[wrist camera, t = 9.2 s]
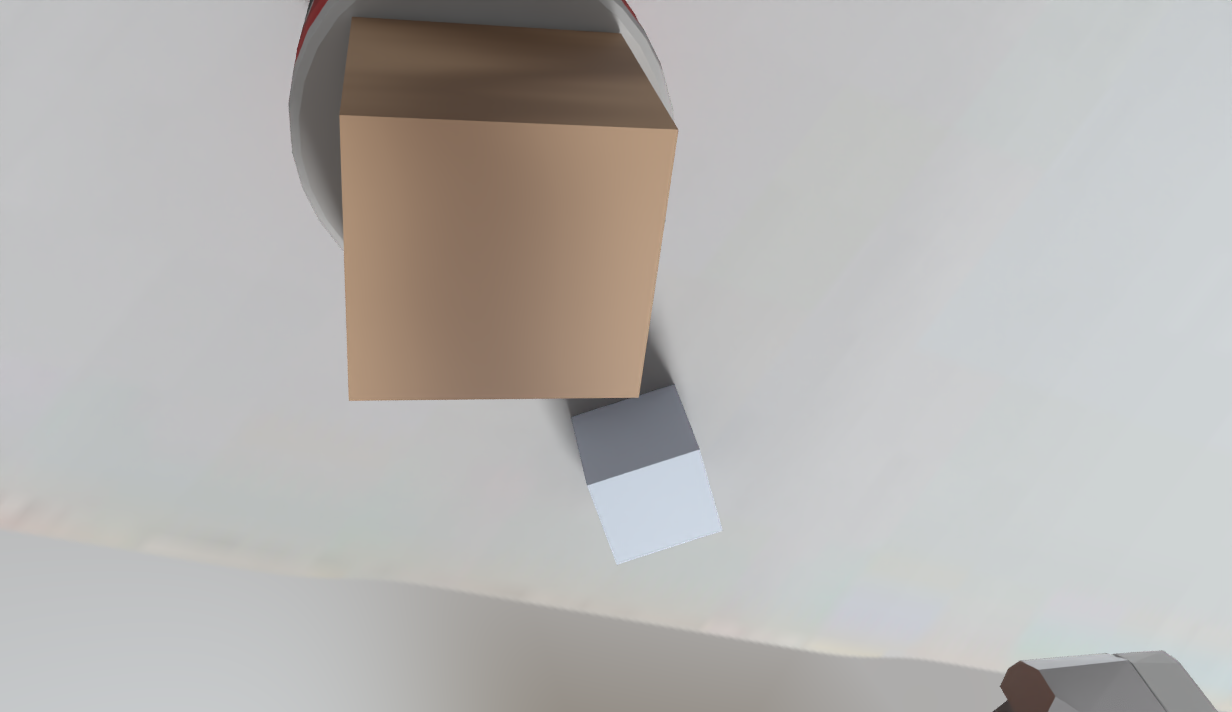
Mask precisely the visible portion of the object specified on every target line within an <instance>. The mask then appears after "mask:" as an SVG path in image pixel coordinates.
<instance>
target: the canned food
mask: <svg viewBox="0 0 1232 712" xmlns="http://www.w3.org/2000/svg"><path fill="white" fill-rule="evenodd" d="M352 17H365V18H382V19H398V20H414V21H430V22H446V23H463V24H479V25H495V26H511V27H527V28H544V29H560V30H576V31H592V32H608V33H621V34H622V36H623V38H624V39H625V41H626V43H627V44H628V46H629V48H630V49H631V51H632V53H633V54H634V56H635V58H636V59H637V61H638V63H639V64H640V66H641V68H642V69H643V71H644V73H645V75H646V76H647V78H648V80H649V81H650V83H651V85H652V86H653V88H654V90H655V91H656V93H657V95H658V96H659V98H660V100H661V101H662V103H663V105H664V106H665V108H666V110H667V111H668V113H669V115H670V116H671V118H672V120H673V108H672V104H671V100H670V96H669V93H668V89H667V85H666V82H665V78H664V74H663V71H662V67H661V64H660V61H659V59H658V57H657V55H656V53H655V51H654V49H653V47H652V45H651V43H650V41H649V39H648V37H647V35H646V33H645V31H644V29H643V28H642V26H641V25H640V23H639V22H638V20H637V18H636V16H635V14H634V12H633V11H632V9H631V8H630V7H629V5H628V4H627V2H626V1H625V0H310V3H309V7H308V10H307V14H306V18H305V22H304V25H303V29H302V33H301V36H300V40H299V44H298V48H297V53H296V60H295V64H294V70H293V77H292V84H291V91H290V98H289V117H290V131H291V143H292V153H293V157H294V160H295V164H296V167H297V171H298V174H299V178H300V181H301V185H302V188H303V190H304V192H305V194H306V196H307V198H308V200H309V202H310V204H311V206H312V208H313V210H314V212H315V214H316V215H317V217H318V219H319V221H320V222H321V224H322V225H323V226H324V228H325V229H326V230H327V231H328V233H329V234H330V235H331V237H332V238H333V239H334V240H335V242H336V243H337V244H338V245H339V247H340V248H341V249H342V250H343V251H344V238H343V209H342V179H341V149H340V119H339V114H340V106H341V98H342V90H343V83H344V75H345V67H346V59H347V51H348V43H349V35H350V27H351V20H352ZM673 122H674V121H673Z"/></svg>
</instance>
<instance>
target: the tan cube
mask: <svg viewBox="0 0 1232 712" xmlns="http://www.w3.org/2000/svg"><path fill="white" fill-rule="evenodd" d="M339 119H340V149H341V179H342V209H343V238H344V268H345V298H346V328H347V358H348V388H349V401H363V400H459V399H555V398H639V392H640V386H641V379H642V372H643V365H644V359H645V352H646V345H647V338H648V332H649V325H650V318H651V311H652V304H653V298H654V291H655V284H656V277H657V271H658V264H659V257H660V250H661V244H662V237H663V230H664V223H665V217H666V210H667V203H668V196H669V190H670V183H671V176H672V169H673V162H674V156H675V149H676V142H677V135H678V128H677V127H676V125H675V123H674V122H673V120H672V118H671V116H670V115H669V113H668V111H667V110H666V108H665V106H664V105H663V103H662V101H661V100H660V98H659V96H658V95H657V93H656V91H655V90H654V88H653V86H652V85H651V83H650V81H649V80H648V78H647V76H646V75H645V73H644V71H643V69H642V68H641V66H640V64H639V63H638V61H637V59H636V58H635V56H634V54H633V53H632V51H631V49H630V48H629V46H628V44H627V43H626V41H625V39H624V38H623V36H622V34H621V33H608V32H592V31H576V30H560V29H544V28H527V27H511V26H495V25H479V24H463V23H446V22H430V21H414V20H398V19H382V18H365V17H352V20H351V27H350V35H349V43H348V51H347V59H346V67H345V75H344V83H343V90H342V98H341V106H340V114H339Z"/></svg>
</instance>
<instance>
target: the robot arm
mask: <svg viewBox="0 0 1232 712" xmlns="http://www.w3.org/2000/svg"><path fill="white" fill-rule="evenodd" d="M1000 687H1001V689H1002V691H1003V693H1004V695H1005V696H1006V698H1007V701H1006V702H1004V703H1003V704H1002V705H1001V706H999V707H998V708H997V709H996V710H994V711H993V712H1218V711H1217V710H1216V709H1215V707H1214V706H1213V705H1212V704H1211V702H1210V701H1209V700H1208V698H1207V697H1206V696H1205V695H1204V693H1203V692H1202V691H1201V689H1200V688H1199V687H1198V686H1197V684H1196V683H1195V682H1194V680H1193V679H1192V678H1191V677H1190V675H1189V674H1188V673H1187V671H1186V670H1185V669H1184V668H1183V666H1182V665H1181V664H1180V663H1179V662H1178V661H1177V660H1176V659H1175V658H1173V657H1172V656H1170V655H1169V654H1167V653H1166V652H1164V651H1143V652H1131V653H1119V654H1108V653H1101V654H1089V655H1078V656H1067V657H1055V658H1044V659H1032V660H1021V661H1019V662H1017V663H1016V664H1014V665H1013V666H1011V667H1010V668H1008V670H1007V672H1006V674H1005V677H1004V679H1003V681H1002V683H1001V685H1000Z"/></svg>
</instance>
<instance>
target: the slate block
mask: <svg viewBox="0 0 1232 712" xmlns="http://www.w3.org/2000/svg"><path fill="white" fill-rule="evenodd" d="M571 419H572V423H573V427H574V431H575V436H576V440H577V444H578V449H579V453H580V457H581V461H582V466H583V470H584V474H585V479H586V483H587V487H588V489H589V492H590V495H591V497H592V500H593V502H594V505H595V508H596V510H597V513H598V516H599V518H600V521H601V524H602V526H603V529H604V532H605V534H606V537H607V540H608V542H609V545H610V548H611V550H612V553H613V556H614V558H615V561H616V563H617V564H620V563H623V562H627V561H630V560H633V559H636V558H639V557H642V556H645V555H648V554H651V553H655V552H658V551H661V550H664V549H667V548H670V547H673V546H676V545H679V544H683V543H686V542H689V541H692V540H695V539H698V538H701V537H704V536H707V535H711V534H714V533H717V532H720V531H723V530H722V527H721V523H720V520H719V516H718V512H717V509H716V505H715V502H714V498H713V495H712V491H711V488H710V484H709V481H708V477H707V474H706V470H705V467H704V463H703V460H702V456H701V452H700V449H699V446H698V444H697V441H696V439H695V436H694V434H693V431H692V428H691V426H690V423H689V421H688V418H687V415H686V413H685V410H684V408H683V405H682V403H681V400H680V397H679V395H678V392H677V390H676V387H675V384H673V385H670V386H667V387H664V388H661V389H657V390H654V391H651V392H648V393H645V394H642V395H639V398H629V399H626V400H623V401H620V402H617V403H614V404H611V405H608V406H604V407H601V408H598V409H595V410H592V411H589V412H586V413H583V414H579V415H576V416H573V417H571Z"/></svg>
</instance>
